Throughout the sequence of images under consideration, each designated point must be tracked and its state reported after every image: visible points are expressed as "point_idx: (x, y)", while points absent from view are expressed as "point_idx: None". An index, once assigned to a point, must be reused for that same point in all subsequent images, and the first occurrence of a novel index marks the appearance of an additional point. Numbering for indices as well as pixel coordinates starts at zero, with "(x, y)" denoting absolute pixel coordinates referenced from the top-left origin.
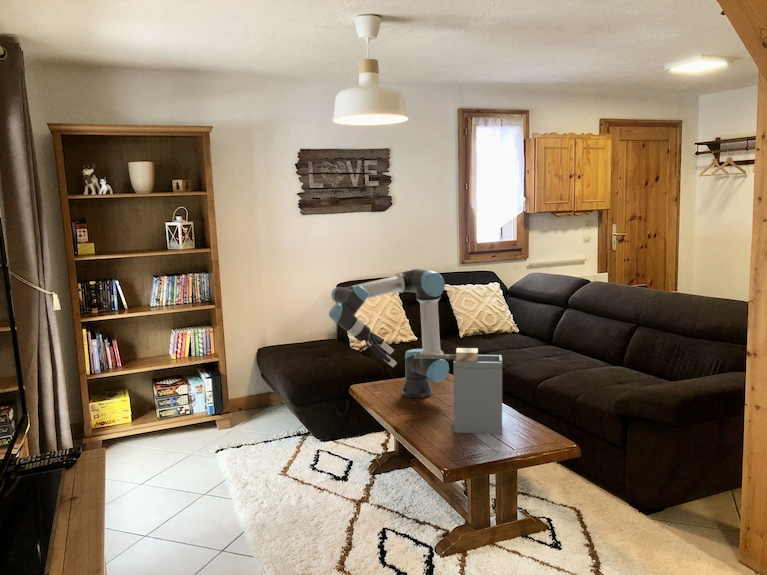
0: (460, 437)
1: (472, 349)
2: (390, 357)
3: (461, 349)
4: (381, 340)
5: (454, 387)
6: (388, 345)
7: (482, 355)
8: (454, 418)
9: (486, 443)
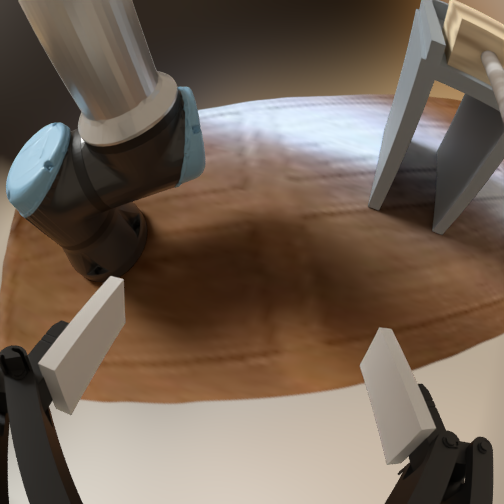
0: (463, 230)
1: (471, 10)
2: (407, 382)
3: (482, 23)
4: (32, 398)
5: (501, 159)
6: (77, 316)
7: (432, 12)
8: (458, 215)
9: (485, 196)
